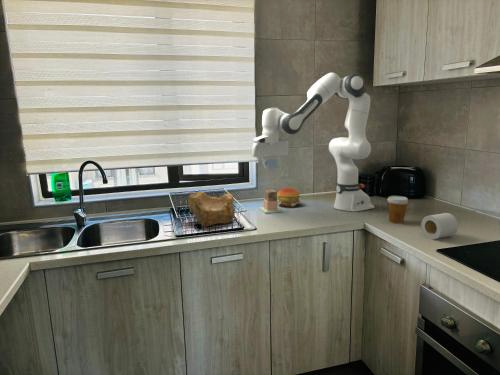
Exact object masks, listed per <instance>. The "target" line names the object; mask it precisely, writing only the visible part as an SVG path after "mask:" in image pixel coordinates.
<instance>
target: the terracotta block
mask: <svg viewBox="0 0 500 375" xmlns="http://www.w3.org/2000/svg"><path fill="white" fill-rule="evenodd" d="M263 207H264V209H266V210H267V211H270V210H278V208H279V204H278V201H271V202H268V201H266V200H265V199H264V198H263Z"/></svg>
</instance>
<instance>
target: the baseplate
mask: <svg viewBox="0 0 500 375" xmlns="http://www.w3.org/2000/svg"><path fill="white" fill-rule="evenodd" d="M258 210H260V211H261V212H262V213H263V214H264V215H267V214H274V213H275V214H276V213H283V212H284V210H283V209H281V208H280V207H278V210H270V211H267V210H266V209H264V206H260V207H258Z"/></svg>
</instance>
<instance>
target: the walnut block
mask: <svg viewBox="0 0 500 375" xmlns="http://www.w3.org/2000/svg"><path fill="white" fill-rule="evenodd" d="M263 195H264V196H263V197H264V198H263V200H264V199H265V200H266V201H268V202H271V201H277V200H278V197H277V196H278V191H276V190H274V189H266V190H264V194H263Z"/></svg>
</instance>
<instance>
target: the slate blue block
mask: <svg viewBox="0 0 500 375" xmlns="http://www.w3.org/2000/svg"><path fill="white" fill-rule="evenodd" d="M264 160H265V161H266V162H267V163H266V164H267V165H263V166H264V167H263V168H264V169H267V170H268V169H278V164H277V158H265V159H264Z"/></svg>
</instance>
